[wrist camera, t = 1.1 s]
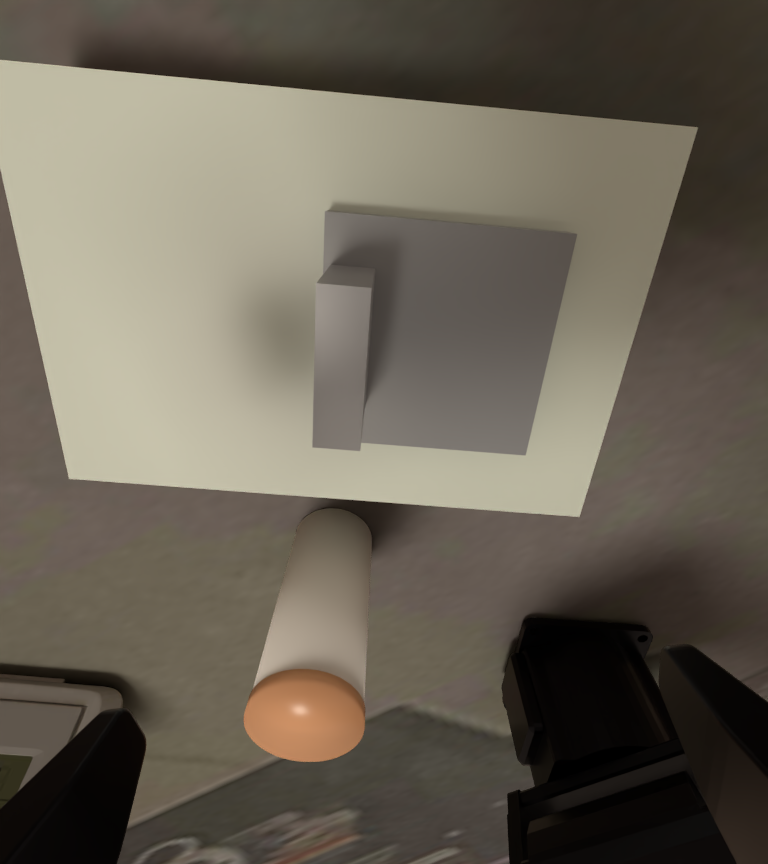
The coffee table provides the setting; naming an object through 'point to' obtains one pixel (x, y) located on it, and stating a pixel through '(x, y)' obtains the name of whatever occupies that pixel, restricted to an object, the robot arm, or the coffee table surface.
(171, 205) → the socket block
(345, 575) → the plug
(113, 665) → the coffee table surface
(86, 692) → the digital clock
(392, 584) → the coffee table surface
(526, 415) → the shutter
